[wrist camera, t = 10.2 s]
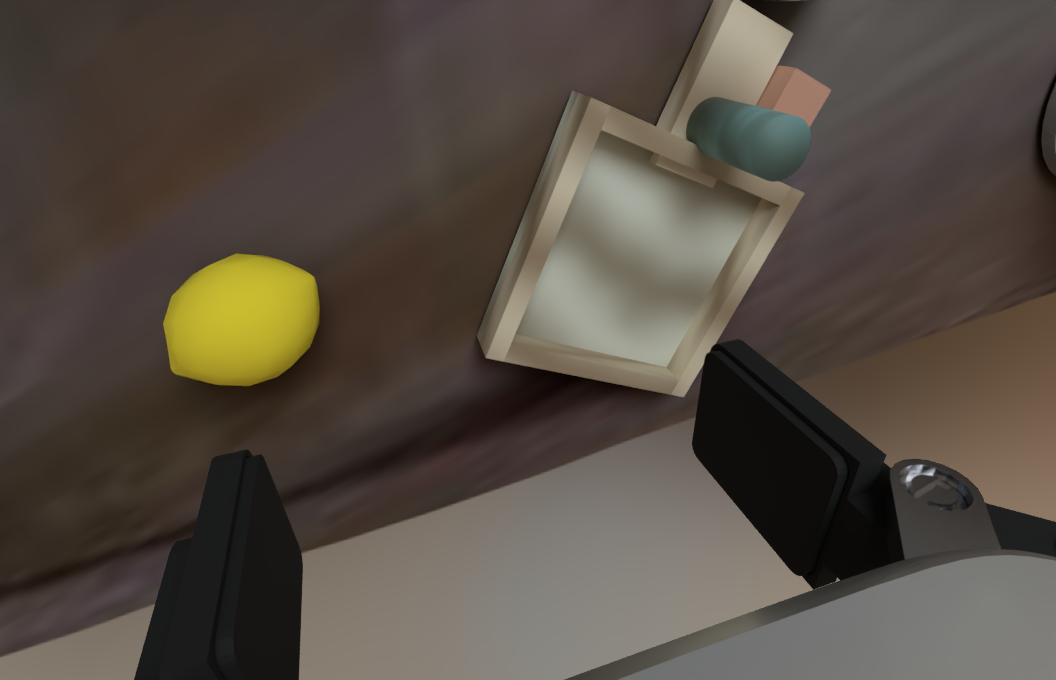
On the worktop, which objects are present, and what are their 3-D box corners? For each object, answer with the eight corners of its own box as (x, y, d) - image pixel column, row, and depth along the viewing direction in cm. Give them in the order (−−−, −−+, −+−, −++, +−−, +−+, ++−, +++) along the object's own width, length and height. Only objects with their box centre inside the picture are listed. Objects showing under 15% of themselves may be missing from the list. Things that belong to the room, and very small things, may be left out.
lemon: (270, 210, 25) (272, 244, 20) (344, 300, 28) (359, 347, 23) (131, 298, 24) (102, 353, 20) (223, 380, 27) (215, 444, 23)
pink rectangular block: (788, 82, 28) (831, 89, 25) (745, 159, 29) (782, 173, 27) (754, 62, 27) (796, 67, 24) (712, 142, 28) (747, 155, 26)
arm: (629, -55, 23) (721, -74, 17) (837, 71, 28) (958, 87, 23) (476, 335, 30) (506, 410, 24) (665, 376, 35) (725, 444, 30)
